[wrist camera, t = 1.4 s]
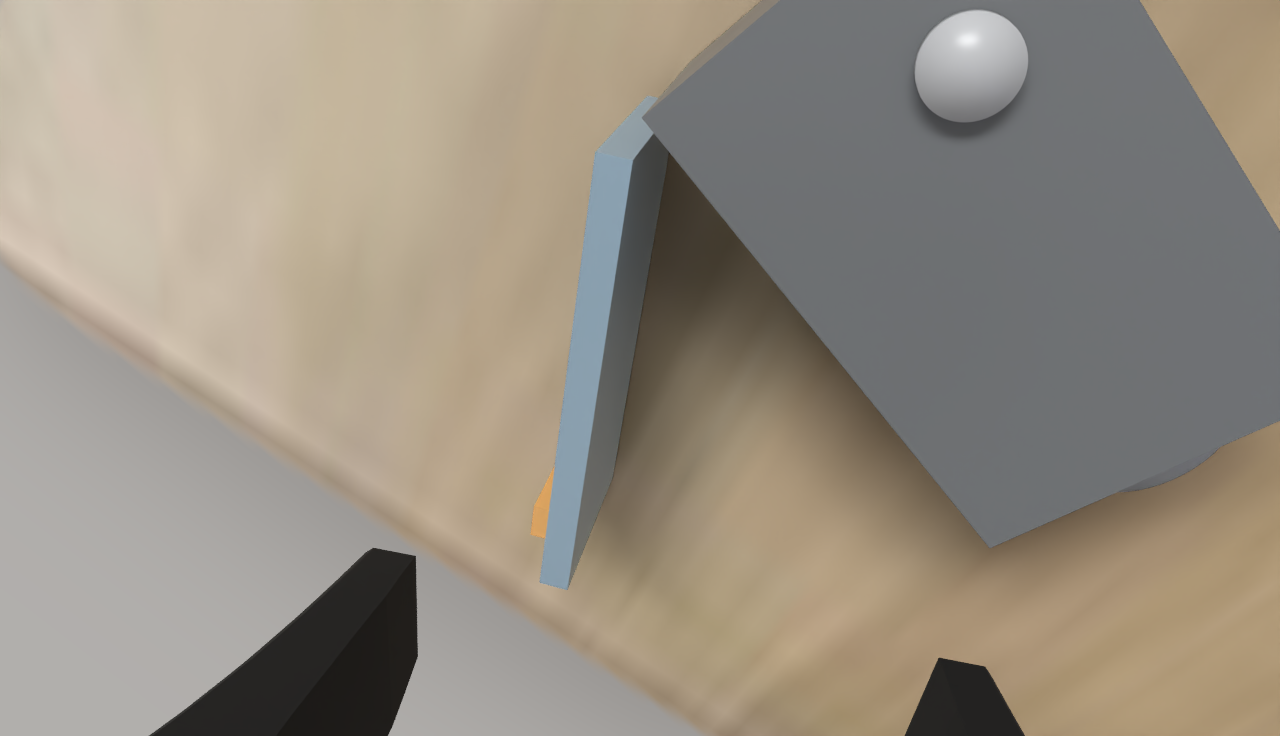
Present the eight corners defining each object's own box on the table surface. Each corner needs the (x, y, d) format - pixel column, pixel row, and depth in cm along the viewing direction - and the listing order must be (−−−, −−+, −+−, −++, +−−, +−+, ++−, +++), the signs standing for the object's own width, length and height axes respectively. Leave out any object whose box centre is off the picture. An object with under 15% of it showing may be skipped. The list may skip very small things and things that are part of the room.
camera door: (612, 477, 22) (567, 589, 18) (566, 465, 22) (512, 575, 19) (678, 101, 17) (632, 159, 14) (617, 89, 17) (558, 143, 14)
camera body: (1278, 304, 17) (1412, 442, 13) (989, 448, 20) (1024, 600, 16) (974, -182, 14) (1020, -203, 10) (690, 62, 17) (637, 122, 13)
